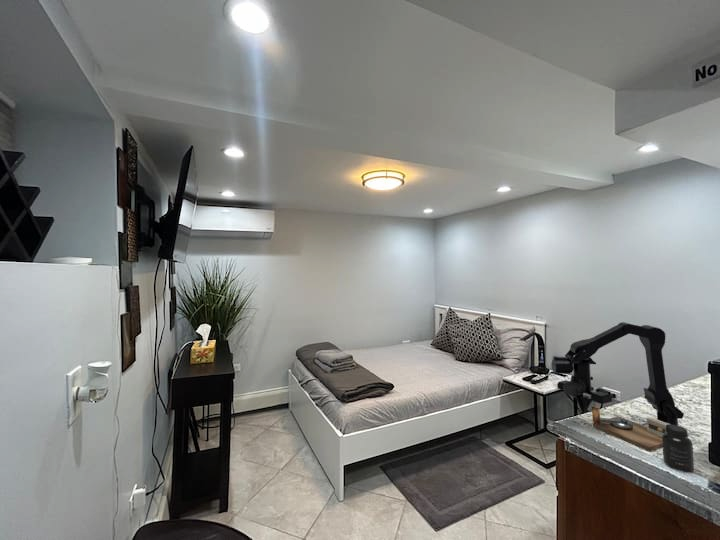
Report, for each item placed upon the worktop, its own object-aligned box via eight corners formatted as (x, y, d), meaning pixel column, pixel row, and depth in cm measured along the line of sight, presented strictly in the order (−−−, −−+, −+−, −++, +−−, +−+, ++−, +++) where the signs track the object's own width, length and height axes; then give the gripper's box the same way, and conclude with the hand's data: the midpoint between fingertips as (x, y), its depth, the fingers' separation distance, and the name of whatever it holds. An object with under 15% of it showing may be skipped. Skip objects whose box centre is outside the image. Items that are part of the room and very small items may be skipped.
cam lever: (628, 421, 124) (627, 406, 124) (636, 430, 118) (635, 414, 118) (589, 417, 129) (589, 403, 129) (595, 425, 122) (595, 410, 122)
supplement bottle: (662, 457, 104) (660, 420, 104) (692, 464, 100) (690, 426, 100) (664, 467, 99) (662, 429, 99) (696, 475, 95) (694, 435, 95)
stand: (618, 419, 130) (617, 404, 130) (676, 442, 112) (676, 424, 112) (592, 426, 125) (592, 410, 125) (650, 451, 107) (649, 432, 107)
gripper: (546, 370, 135) (548, 407, 135) (591, 384, 117) (593, 426, 117) (565, 366, 138) (567, 402, 138) (611, 379, 121) (613, 420, 121)
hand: (583, 412), depth 128 cm, fingers closed
